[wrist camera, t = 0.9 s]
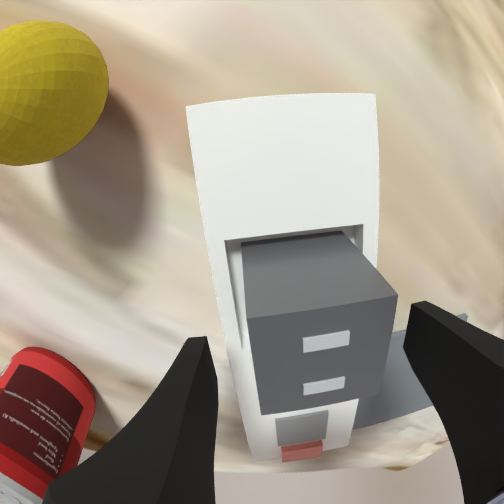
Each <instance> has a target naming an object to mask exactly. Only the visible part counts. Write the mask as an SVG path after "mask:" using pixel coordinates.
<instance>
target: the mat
mask: <svg viewBox="0 0 504 504" xmlns="http://www.w3.org/2000/svg"><path fill="white" fill-rule="evenodd" d="M456 317H458V318H460V319H462V320H464V321H467V318H468V316H467V315H466V314H462V315H459V316H456ZM405 335H406V330H403V331H399V332H394V333H392V335H391V341H390V346H389V351H388V356H387V360H386V365H385V369H384V374H383V378H382V382H381V386H380V390H379V394H375V395H371V396H367V397H363V398H359V400H358V405H357V410H356V415H355V419H354V424H353V428H352V430H353V429H357V428H361V427H365V426H369V425H373V424H376V423H380V422H383V421H387V420H390V419H394V418H397V417H400V416H403V415H406V414H410V413H413V412H416V411H418V410H421V409H424V408H427V407H430V406H433V404H432V402H431V400H430V399H429V397H428V395H427V393H426V392H425V390H424V388H423V387H422V385H421V383H420V382H419V380H418V378H417V377H416V375H415V373H414V372H413V370H412V368H411V366H410V363H409V361H408V359H407V356H406V354H405V351H404V349H403V344H404V339H405Z"/></svg>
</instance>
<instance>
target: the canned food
mask: <svg viewBox="0 0 504 504" xmlns="http://www.w3.org/2000/svg"><path fill="white" fill-rule="evenodd" d="M94 413H95V395H94V392H93V389H92V387H91V385H90V384H89V382H88V381H87V379H86V378H85V377H84V376H83V374H82V373H81V372H80V371H79V370H78V369H77V368H76V367H75V366H74V365H72V364H71V363H70V362H69V361H67V360H66V359H64V358H63V357H61V356H60V355H58V354H56V353H54V352H52V351H50V350H47V349H44V348H40V347H27V348H24V349H23V350H21V351H19V352H18V353H16V354H15V355H14V356H13V357H12V359H11V360H10V362H9V363H8V365H7V366H6V368H5V369H4V370H3V372H2V373H1V375H0V501H1V502H3V503H5V504H42V502H43V499H44V495H45V492H46V489H47V486H48V484H49V482H51V481H53V480H55V479H57V478H58V477H60V476H62V475H63V474H65V473H67V472H68V471H70V470H72V469H73V468H75V467H77V465H78V462H79V459H80V455H81V452H82V449H83V446H84V443H85V440H86V436H87V433H88V430H89V427H90V424H91V422H92V419H93V416H94Z"/></svg>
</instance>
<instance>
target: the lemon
mask: <svg viewBox="0 0 504 504" xmlns="http://www.w3.org/2000/svg"><path fill="white" fill-rule="evenodd" d="M108 85H109V79H108V71H107V65H106V63H105V60H104V58H103V56H102V53H101V51H100V49H99V48H98V47H97V46H96V45H95V44H94V42H93V41H92V40H91V39H90V38H89V37H88V36H87V35H86V34H84V33H83V32H81V31H79V30H77V29H75V28H73V27H71V26H69V25H67V24H63V23H58V22H49V21H29V22H24V23H20V24H17V25H13V26H10V27H7V28H6V29H4V30H2V31H0V164H5V165H11V166H23V165H31V164H37V163H43V162H46V161H49V160H51V159H53V158H55V157H57V156H59V155H62V154H64V153H66V152H67V151H69V150H70V149H72V148H73V147H74V146H75V145H77V144H78V143H79V142H80V141H82V140H83V139H84V138H85V137H86V136H87V134H88V133H89V132H90V131H91V129H92V128H93V127H94V126H95V124H96V122H97V120H98V119H99V117H100V115H101V113H102V111H103V109H104V105H105V102H106V99H107V95H108Z"/></svg>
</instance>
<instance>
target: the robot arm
mask: <svg viewBox="0 0 504 504" xmlns="http://www.w3.org/2000/svg"><path fill="white" fill-rule="evenodd" d="M403 349H404V351H405V354H406V356H407V359H408V361H409V363H410V366H411V368H412V370H413V372H414V373H415V375H416V377H417V378H418V380H419V382H420V383H421V385H422V387H423V388H424V390H425V392H426V393H427V395H428V397H429V399H430V400H431V402H432V404H433V405H434V407H435V409H436V411H437V412H438V414H439V416H440V418H441V420H442V423H443V425H444V428H445V430H446V433H447V435H448V438H449V440H450V443H451V446H452V449H453V452H454V455H455V459H456V462H457V467H458V470H459V475H460V479H461V484H462V490H463V496H464V503H465V504H504V340H503V339H500V338H498V337H496V336H494V335H492V334H489V333H487V332H485V331H483V330H481V329H479V328H477V327H475V326H473V325H471V324H470V323H468V322H466V321H464V320H462V319H460V318H458V317H456V316H455V315H453V314H451V313H449V312H447V311H445V310H443V309H442V308H440V307H438V306H436V305H434V304H431V303H429V302H427V301H422V302H417V303H413V304H411V309H410V314H409V320H408V325H407V330H406V335H405V339H404V344H403ZM217 415H218V382H217V376H216V372H215V368H214V364H213V360H212V356H211V352H210V348H209V344H208V340H207V336H203V337H192V338H188V339H187V340H186V342H185V343H184V345H183V347H182V349H181V350H180V352H179V354H178V355H177V357H176V359H175V360H174V362H173V364H172V365H171V367H170V369H169V370H168V372H167V373H166V375H165V376H164V378H163V379H162V381H161V382H160V384H159V385H158V387H157V388H156V389H155V391H154V392H153V393H152V395H151V396H150V397H149V399H148V400H147V402H146V403H145V404H144V405H143V407H142V408H141V409H140V410H139V411H138V413H137V414H136V415H135V416H134V417H133V418H132V419H131V420H130V421H129V423H128V424H127V425H126V426H125V427H124V428H123V429H122V430H121V431H120V432H119V433H118V434H117V435H116V436H115V437H113V438H112V439H111V440H110V441H109V442H108V443H107V444H106V445H105V446H103V447H102V448H101V449H100V450H98V451H97V452H96V453H95V454H93V455H92V456H91V457H89V458H88V459H87V460H85V461H84V462H82V463H81V464H80V465H78V466H77V467H75V468H73V469H72V470H70V471H68V472H67V473H65V474H63V475H62V476H60V477H58V478H57V479H55V480H53V481H51V482H49V484H48V486H47V489H46V492H45V495H44V499H43V502H42V504H215V491H214V490H215V489H214V452H215V440H216V428H217Z"/></svg>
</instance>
